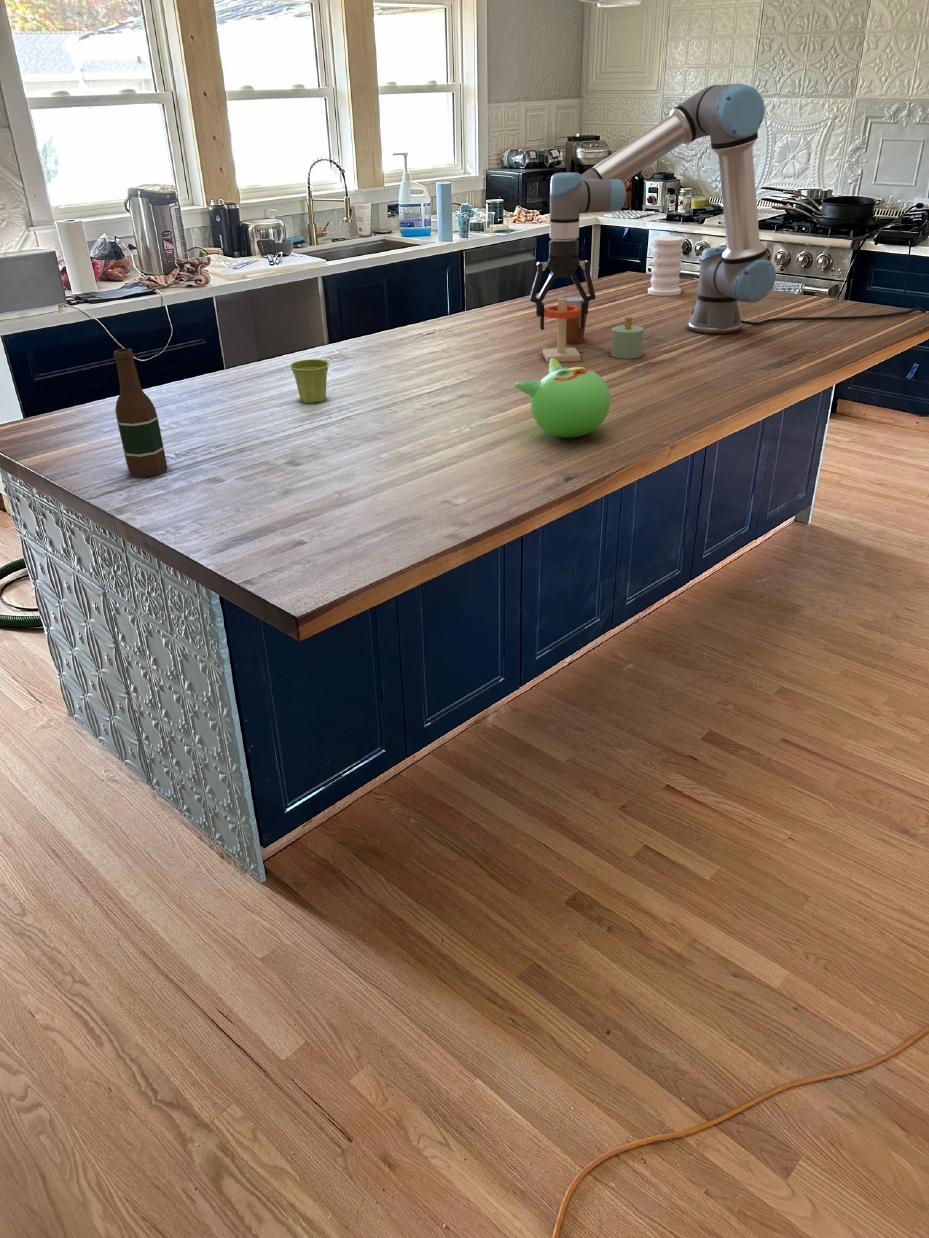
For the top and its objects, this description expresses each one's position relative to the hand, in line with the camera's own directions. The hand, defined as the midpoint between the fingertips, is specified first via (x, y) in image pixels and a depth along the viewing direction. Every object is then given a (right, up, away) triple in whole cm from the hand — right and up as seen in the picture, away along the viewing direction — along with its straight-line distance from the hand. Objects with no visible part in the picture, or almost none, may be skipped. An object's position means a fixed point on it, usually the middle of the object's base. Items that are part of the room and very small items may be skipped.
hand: (561, 328), depth 248 cm
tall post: (0, -7, +4) cm, 8 cm away
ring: (0, +3, -2) cm, 3 cm away
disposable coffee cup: (+5, +3, +21) cm, 22 cm away
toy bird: (-4, -39, -52) cm, 65 cm away
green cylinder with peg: (+18, -6, +5) cm, 20 cm away
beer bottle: (-89, -49, -64) cm, 120 cm away
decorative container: (+45, +37, +78) cm, 98 cm away
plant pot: (-63, -25, -24) cm, 72 cm away
